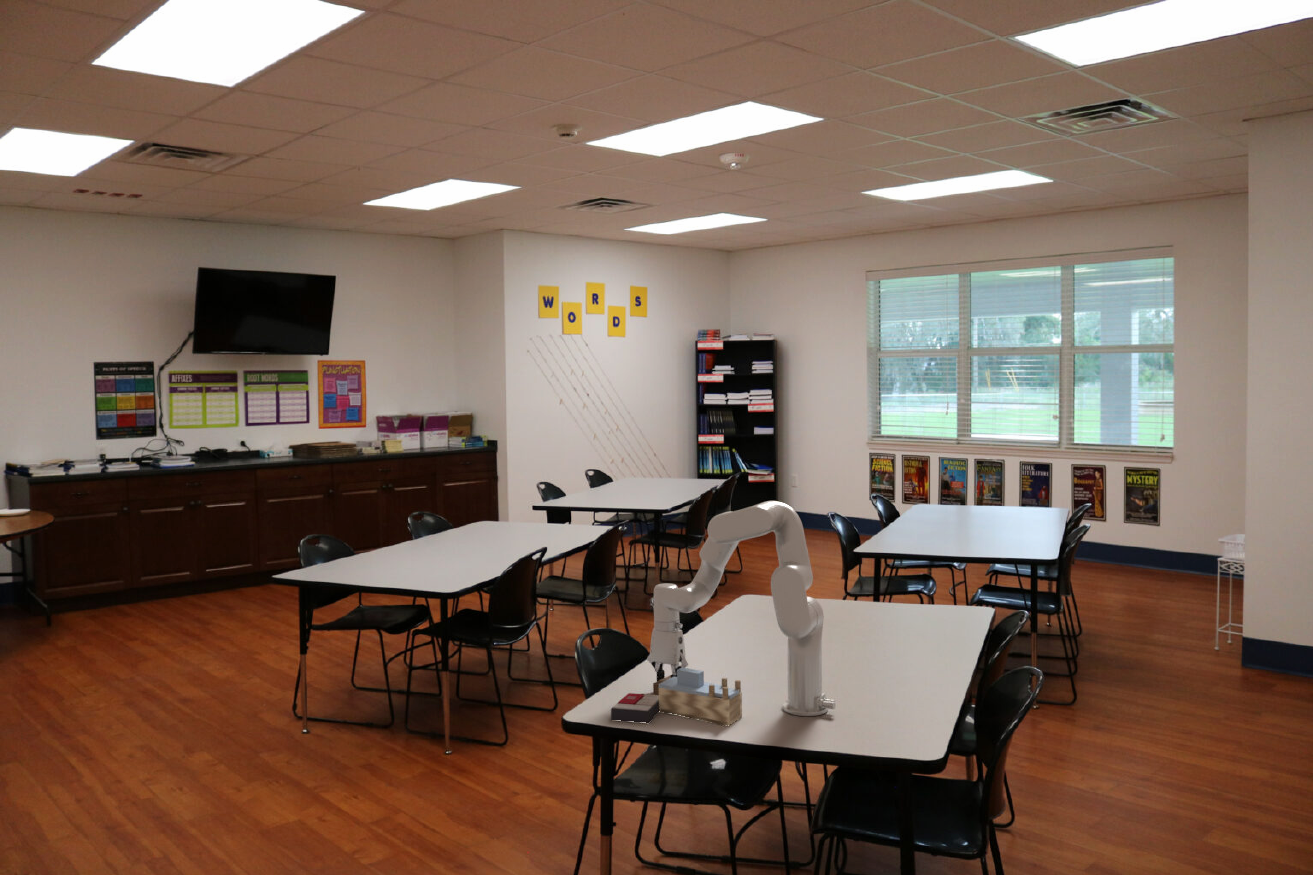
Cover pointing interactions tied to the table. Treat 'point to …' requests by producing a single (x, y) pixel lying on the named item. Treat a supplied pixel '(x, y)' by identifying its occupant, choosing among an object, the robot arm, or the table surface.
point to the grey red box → (636, 708)
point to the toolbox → (703, 704)
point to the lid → (694, 684)
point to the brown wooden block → (656, 685)
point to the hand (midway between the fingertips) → (667, 684)
